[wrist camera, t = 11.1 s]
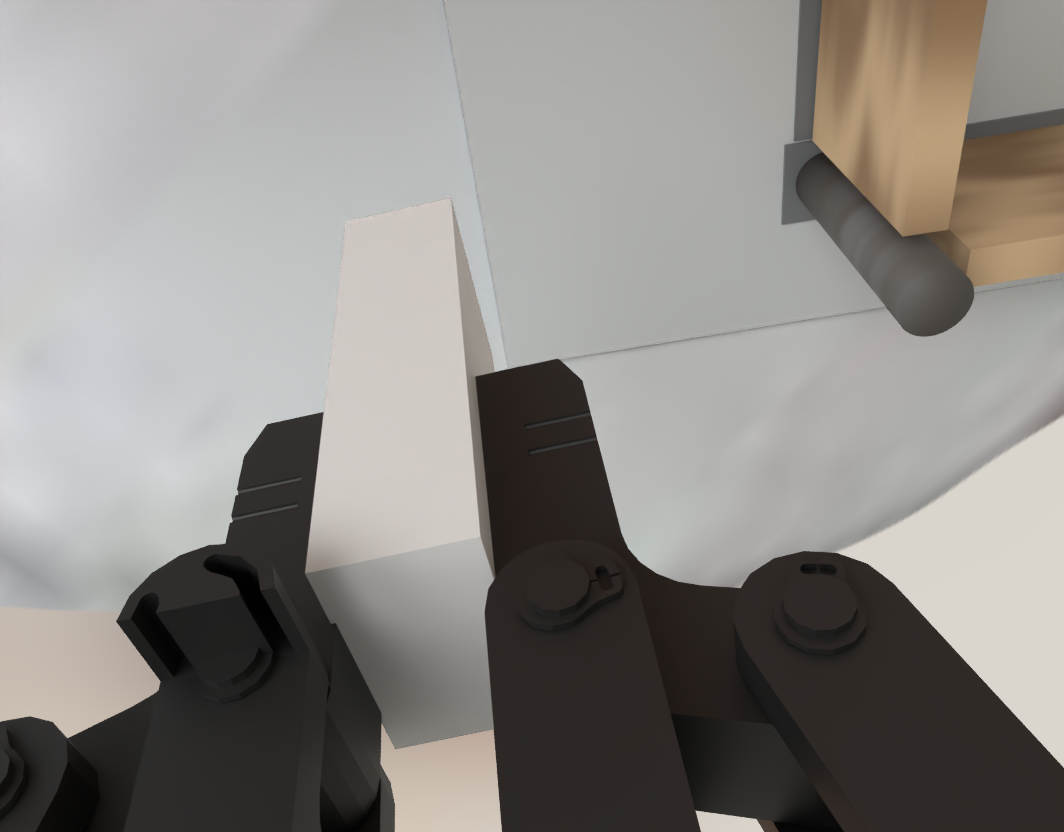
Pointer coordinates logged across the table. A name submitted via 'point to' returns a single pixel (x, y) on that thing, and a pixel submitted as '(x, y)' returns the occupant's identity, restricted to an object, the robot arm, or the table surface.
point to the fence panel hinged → (898, 101)
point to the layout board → (679, 161)
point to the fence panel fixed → (953, 228)
